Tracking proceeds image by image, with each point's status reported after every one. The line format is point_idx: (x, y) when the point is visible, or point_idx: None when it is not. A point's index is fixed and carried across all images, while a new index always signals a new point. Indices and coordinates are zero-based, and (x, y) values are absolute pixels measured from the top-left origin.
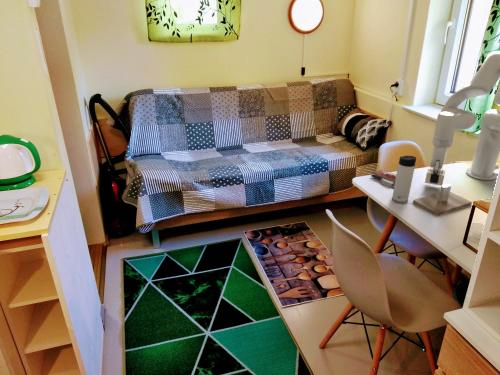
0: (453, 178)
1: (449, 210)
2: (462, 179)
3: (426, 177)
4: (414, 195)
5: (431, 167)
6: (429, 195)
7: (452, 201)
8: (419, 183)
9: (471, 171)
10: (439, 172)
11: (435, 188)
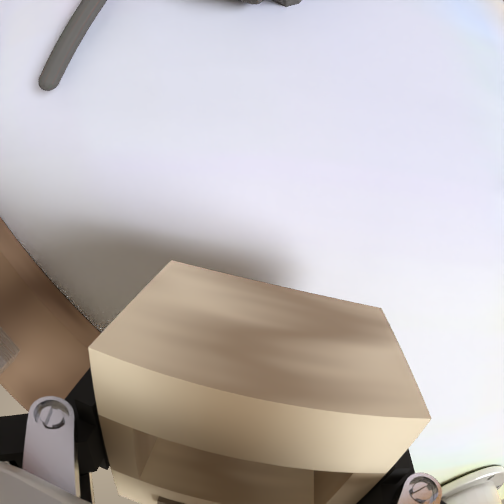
0: (439, 441)
1: None
2: (421, 469)
3: (135, 304)
4: (31, 148)
5: (385, 452)
6: (11, 266)
7: (24, 381)
8: (323, 204)
9: (467, 493)
10: (316, 474)
11: None
